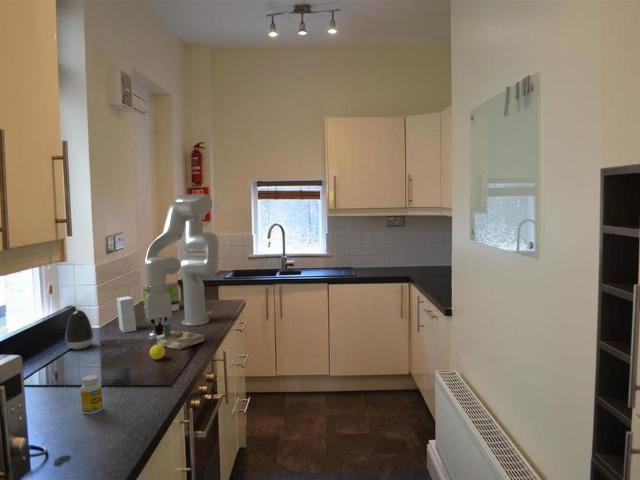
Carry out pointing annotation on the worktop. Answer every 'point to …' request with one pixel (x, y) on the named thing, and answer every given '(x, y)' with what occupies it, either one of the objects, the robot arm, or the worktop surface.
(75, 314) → the grey dome gadget
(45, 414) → the worktop surface
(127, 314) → the skincare box
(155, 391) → the worktop surface
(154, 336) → the hub
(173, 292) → the tea box
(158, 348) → the lemon
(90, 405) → the supplement bottle
